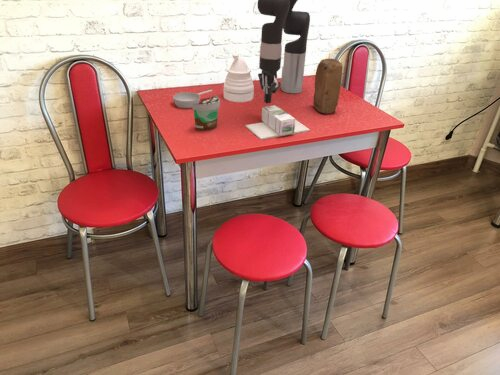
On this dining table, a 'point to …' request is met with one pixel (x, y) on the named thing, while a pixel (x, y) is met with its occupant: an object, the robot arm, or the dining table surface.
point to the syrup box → (278, 120)
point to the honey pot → (238, 82)
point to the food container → (206, 113)
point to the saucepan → (187, 99)
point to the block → (327, 85)
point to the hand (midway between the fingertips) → (267, 102)
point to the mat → (267, 132)
